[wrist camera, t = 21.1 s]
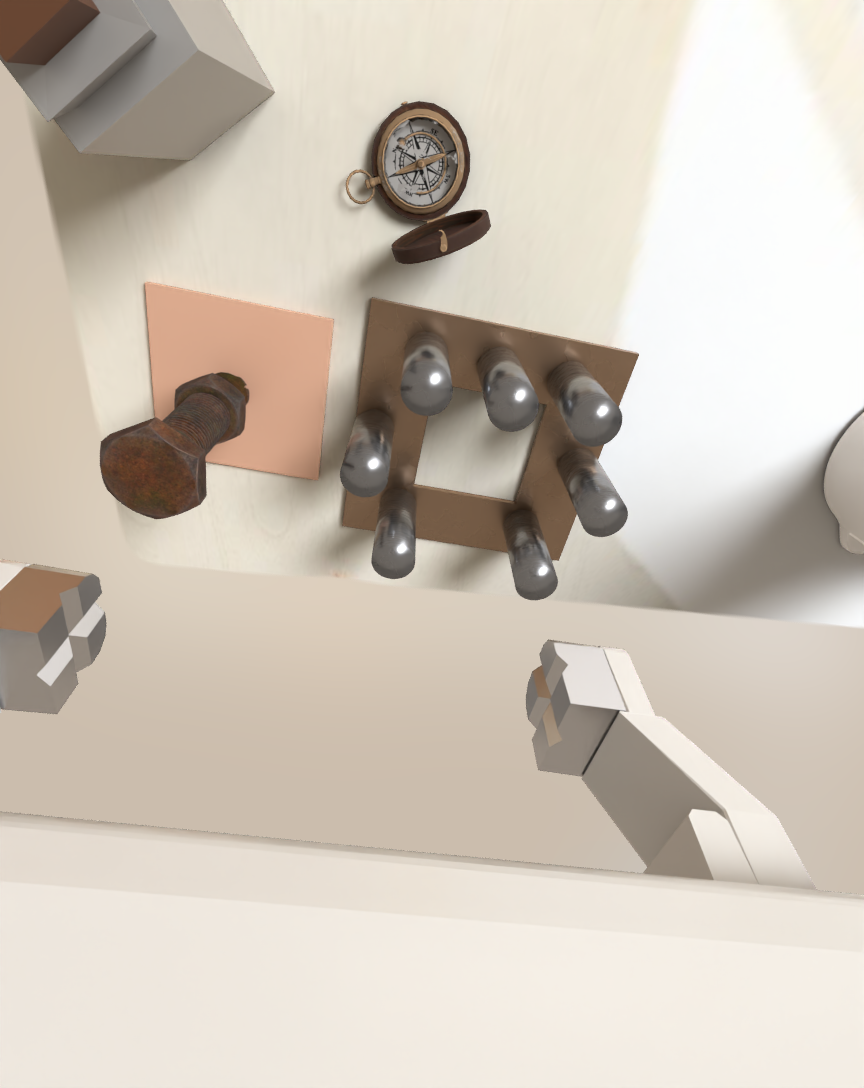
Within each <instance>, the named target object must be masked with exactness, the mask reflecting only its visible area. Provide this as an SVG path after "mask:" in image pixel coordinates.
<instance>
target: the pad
mask: <svg viewBox="0 0 864 1088" xmlns="http://www.w3.org/2000/svg"><path fill="white" fill-rule="evenodd" d="M145 291H146V304H147V318H148V331H149V344H150V358H151V371H152V384H153V398H154V411H155V418H156V417H157V418H158V419H160V420H161V421H163V420H164V419H165V418H166V417H167V416H168V415H169V414H170V413H171V412H172V411H173V410H174V399H175V390H176V389H177V388H178V387H179V386H180V385H182V384H184V383H186V382H188V381H191V380H193V379H196V378H198V377H201V376H204V375H207V374H211V373H214V374H216V373H219V372H224V373H230V374H232V375H235V376H238V377H241V378H242V379H243V380H244V382H245V383H246V385H247V386H245V387H246V388H247V389H249V395H250V396H249V401H248V403H247V405H246V419H245V428H244V431H243V432H242V433H241V435H240V436H237V437H235V438H233V439H231V440H228V441H226V442H223V443H220V444H216V445H215V446H214V447H213V448H212V449H211V451H210V452H209V453H208V454H207V455H206V462H212V463H218V464H224V465H230V466H235V467H241V468H247V469H253V470H259V471H265V472H271V473H277V474H283V475H289V476H295V477H300V478H306V479H312V480H318V479H319V469H320V459H321V448H322V438H323V428H324V417H325V407H326V397H327V386H328V376H329V366H330V355H331V345H332V335H333V324H334V319H330V318H325V317H320V316H315V315H310V314H305V313H300V312H295V311H290V310H285V309H280V308H275V307H270V306H265V305H261V304H256V303H251V302H246V301H241V300H236V299H231V298H226V297H221V296H216V295H211V294H206V293H201V292H196V291H191V290H186V289H182V288H177V287H172V286H167V285H162V284H157V283H152V282H145Z"/></svg>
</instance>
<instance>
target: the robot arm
mask: <svg viewBox="0 0 864 1088" xmlns="http://www.w3.org/2000/svg"><path fill="white" fill-rule="evenodd" d="M824 494H825V498H826V502H827V504H828V506H829V508H830V510H831V511H832V513H833V514H834V515H835V517H836V518H837V520H838V522H839V524H840V543H841V545H842V547H843V548H845V549H846V550H848V551H849V552H851V553H854V554H864V412H863V413H862V414H861V415H860V416H859V417H858V418H857V419H856V420H855V421H854V422H853V423H852V424H851V426H850V427H849V428H848V429H847V430H846V432H845V433H844V434H843V436H842V437H841V439H840V440H839V442H838V443H837V445H836V447H835V449H834V450H833V452H832V454H831V457H830V459H829V462H828V465H827V468H826V472H825V477H824ZM101 593H102V591H101V586H100V581H99V578H98V577H97V576H95V575H94V574H91V573H85V572H79V571H72V570H67V569H61V568H55V567H49V566H43V565H37V564H27V563H22V562H16V561H10V560H4V559H3V560H0V713H1V709H5V710H15V711H26V712H38V713H50V714H58V712H59V711H60V709H61V708H62V706H63V705H64V704H65V702H66V701H67V699H68V698H69V696H70V695H71V694H72V692H73V691H74V689H75V688H76V686H77V685H78V680H77V674H76V672H78V671H79V670H82V669H83V668H85V667H87V666H89V665H91V664H92V663H93V661H94V660H95V658H96V657H97V655H98V654H99V652H100V650H101V647H102V644H103V641H104V638H105V633H106V617H105V612H104V611H103V610H102V609H101V608H100V607H99V606H98V605H97V604H96V603H95V601H96V600H97V599H98V597H99V596H100V595H101ZM540 659H541V663H542V665H541V666H540V667H538V668H537V669H535V670H534V671H533V672H532V674H531V677H530V680H529V682H528V687H527V694H526V709H527V715H528V720H529V721H530V722H531V723H532V724H533V725H534V726H535V727H536V729H537V730H536V732H535V734H534V736H533V739H532V742H533V746H534V752H535V757H536V762H537V766H538V770H540V771H547V772H554V773H561V774H569V775H575V776H582V780H583V781H584V782H585V784H586V785H587V787H588V788H589V789H590V791H591V792H592V793H593V794H594V796H595V797H596V799H597V800H598V801H599V803H600V804H601V805H602V807H603V808H604V809H605V811H606V812H607V813H608V815H609V816H610V817H611V818H612V820H613V821H614V823H615V824H616V825H617V827H618V828H619V829H620V831H621V832H622V833H623V835H624V836H625V837H626V839H627V840H628V841H629V843H630V844H631V845H632V847H633V848H634V849H635V851H636V852H637V853H638V855H639V856H640V857H641V859H642V860H643V861H644V863H645V864H646V865H647V869H646V870H645V871H644V872H643V873H634V872H624V871H613V870H603V869H593V868H582V867H571V866H562V865H552V864H541V863H531V862H520V861H510V860H500V859H489V858H478V857H467V856H457V855H447V854H436V853H425V852H415V851H404V850H393V849H383V848H373V847H362V846H351V845H341V844H331V843H321V842H310V841H300V840H289V839H279V838H268V837H259V836H249V835H238V834H228V833H217V832H208V831H197V830H187V829H176V828H165V827H156V826H144V825H134V824H125V823H114V822H104V821H93V820H83V819H73V818H63V817H52V816H42V815H31V814H21V813H11V812H0V1088H864V895H862V894H852V893H842V892H831V891H820V890H817V889H816V887H815V885H814V884H813V882H812V880H811V878H810V876H809V874H808V873H807V871H806V869H805V867H804V865H803V863H802V862H801V860H800V858H799V856H798V854H797V853H796V851H795V849H794V847H793V845H792V843H791V842H790V840H789V838H788V836H787V834H786V833H785V831H784V829H783V827H782V825H781V824H780V822H779V820H778V818H777V817H776V816H775V815H774V814H773V813H772V812H771V811H769V810H768V809H767V808H766V807H765V806H764V805H763V804H762V803H761V802H759V801H758V800H757V799H756V798H755V797H754V796H752V795H751V794H750V793H749V792H748V791H747V790H746V789H745V788H743V787H742V786H741V785H740V784H739V783H738V782H736V781H735V780H734V779H733V778H732V777H731V776H730V775H729V774H728V773H726V772H725V771H724V770H723V769H722V768H721V767H720V766H718V765H717V764H716V763H715V762H714V761H713V760H712V759H711V758H709V757H708V756H707V755H706V754H705V753H704V752H703V751H701V750H700V749H699V748H698V747H697V746H696V745H695V744H693V743H692V742H691V741H690V740H689V739H688V738H687V737H685V736H684V735H683V734H682V733H681V732H680V731H679V730H677V729H676V728H675V727H674V726H673V725H672V724H671V723H669V722H668V721H667V720H666V719H665V718H664V717H660V716H656V715H655V713H654V711H653V709H652V706H651V704H650V702H649V699H648V697H647V695H646V693H645V691H644V688H643V686H642V684H641V681H640V679H639V677H638V674H637V672H636V670H635V667H634V665H633V663H632V661H631V658H630V656H629V654H628V653H627V652H626V651H625V650H624V649H618V648H610V647H602V646H598V647H596V646H590V645H583V644H575V643H569V642H562V641H554V640H548V641H547V642H546V643H545V644H544V645H543V648H542V650H541V652H540Z"/></svg>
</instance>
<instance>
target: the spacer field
mask: <svg viewBox="0 0 864 1088" xmlns="http://www.w3.org/2000/svg"><path fill="white" fill-rule="evenodd" d="M638 356H639V354H638V353H637V352H632V351H627V350H622V349H618V348H613V347H608V346H603V345H599V344H594V343H589V342H584V341H579V340H575V339H570V338H565V337H560V336H555V335H551V334H546V333H541V332H536V331H531V330H527V329H522V328H517V327H512V326H507V325H503V324H498V323H493V322H488V321H483V320H479V319H474V318H469V317H464V316H459V315H455V314H450V313H445V312H440V311H435V310H431V309H426V308H421V307H416V306H411V305H407V304H402V303H397V302H392V301H387V300H383V299H378V298H373V297H372V299H371V306H370V314H369V322H368V330H367V337H366V345H365V353H364V361H363V368H362V376H361V384H360V392H359V400H358V407H357V415H356V419H355V422H354V426H353V429H352V433H351V436H350V439H349V443H348V446H347V450H346V453H345V457H344V460H343V464H342V467H341V471H340V478H341V482H342V484H343V486H344V487H345V488H346V489H347V493H346V500H345V508H344V516H343V524H342V526H347V527H353V528H359V529H366V530H372V531H375V539H374V546H373V553H372V566H373V568H374V570H375V571H376V572H377V573H378V574H380V575H381V576H383V577H386V578H390V579H398V578H402V577H405V576H407V575H408V574H409V573H410V572H411V571H412V570H413V568H414V565H415V544H416V538H422V539H428V540H434V541H440V542H446V543H453V544H459V545H465V546H471V547H477V548H484V549H490V550H496V551H502V552H508V555H509V559H510V564H511V568H512V573H513V578H514V582H515V587H516V590H517V592H518V594H519V595H520V596H522V597H523V598H525V599H528V600H540V599H544V598H546V597H548V596H549V595H551V594H552V593H553V592H554V591H555V589H556V587H557V584H558V579H557V576H556V573H555V570H554V567H553V563H552V560H558V561H559V558H560V556H561V553H562V551H563V548H564V545H565V543H566V540H567V538H568V535H569V533H570V530H571V528H572V525H573V522H574V520H575V517H576V515H578V517H579V519H580V521H581V523H582V526H583V528H584V529H585V531H586V532H587V533H589V534H591V535H593V536H597V537H605V536H609V535H612V534H614V533H616V532H617V531H619V530H620V529H621V528H622V527H623V526H624V524H625V522H626V520H627V516H628V511H627V508H626V506H625V504H624V503H623V501H622V499H621V498H620V496H619V494H618V493H617V491H616V489H615V488H614V486H613V484H612V483H611V481H610V479H609V478H608V476H607V475H606V473H605V471H604V470H603V468H602V466H601V465H600V463H599V461H598V458H599V456H600V453H601V451H602V448H603V446H604V444H606V443H608V442H609V441H611V440H612V439H613V438H614V437H615V436H616V435H617V433H618V432H619V430H620V427H621V424H622V414H621V411H620V409H619V405H620V402H621V399H622V397H623V394H624V392H625V389H626V387H627V384H628V382H629V379H630V376H631V374H632V371H633V369H634V366H635V364H636V361H637V359H638ZM452 386H453V387H458V388H463V389H468V390H473V391H479V392H482V393H483V397H484V400H485V404H486V408H487V412H488V416H489V418H490V420H491V422H492V423H493V424H494V425H495V426H496V427H497V428H499V429H501V430H504V431H509V432H513V431H518V430H521V429H524V428H525V427H527V426H528V425H529V424H531V423H532V421H533V420H534V419H535V417H536V415H537V413H538V409H539V403H541V404H546V406H545V409H544V412H543V415H542V419H541V422H540V425H539V428H538V431H537V434H536V438H535V441H534V444H533V447H532V450H531V453H530V456H529V460H528V463H527V466H526V469H525V472H524V475H523V479H522V482H521V485H520V488H519V491H518V494H517V498H516V501H510V500H504V499H498V498H493V497H487V496H481V495H475V494H469V493H464V492H458V491H452V490H446V489H440V488H434V487H429V486H423V485H417V484H414V482H415V477H416V472H417V467H418V462H419V457H420V452H421V447H422V442H423V437H424V432H425V427H426V422H427V417H428V416H431V415H435V414H437V413H439V412H441V411H442V410H444V409H445V408H446V407H447V405H448V404H449V402H450V400H451V398H452V393H453V388H452ZM551 559H552V560H551Z"/></svg>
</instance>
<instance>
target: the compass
mask: <svg viewBox="0 0 864 1088" xmlns="http://www.w3.org/2000/svg"><path fill="white" fill-rule="evenodd" d="M401 105H403V106H401V107H400V108H398V109H396V110H395V111H393V112H392V113H391V114H390V115H389V116H388V117H387V119H386V120H385V121H384V122H383V123H382V125H381V127H380V129H379V131H378V133H377V135H376V138H375V140H374V146H373V151H372V171H373V176H374V178H373V177H372V176H371V175H370V174H369V173H368V172H367V171H364V170H361V169H360V170H355V171H353V172H352V173H350V175H349V176H348V178H347V181H346V190H347V194H348V195H349V197H350V199H351V200H353V201H354V202H355V203H358V204H366V203H367V202H369V201H370V200H371V199H372V198H373V196H374V193H375V186H376V185H377V189H378V191H379V192H380V194H381V196H382V197H383V199H384V200H385V202H386V203H387V204H388V205H389V206H390V207H391V208H392V209H393V210H394V211H395V212H396V213H398V214H400V215H402V216H404V217H406V218H408V219H414V220H421V221H427V224H425V225H423V226H420V227H418V228H416V229H414V230H412V231H410V232H409V233H407V234H405V235H403V236H402V237H400V238H399V239H398V240H396V241H395V242H394V243H393V244H392V251H393V254H394V257H395V260H396V261H397V262H399V263H403V264H413V263H420V262H424V261H429V260H433V259H436V258H439V257H442V256H445V255H448V254H450V253H453V252H455V251H458V250H460V249H462V248H464V247H466V246H468V245H470V244H472V243H474V242H475V241H477V240H479V239H480V238H482V237H483V236H484V235H485V234H486V233H487V231H488V230H489V229H490V227H491V224H490V220H489V215H488V212H487V211H486V210H471V211H466V212H460V213H457V214H453V215H450V216H446V217H445V215H444V214H446V213H448V211H449V210H450V209H451V208H452V207H453V206H454V205H455V204H456V202H457V201H458V200H459V198H460V196H461V195H462V193H463V191H464V189H465V187H466V184H467V180H468V176H469V172H470V152H469V148H468V144H467V139H466V136H465V134H464V132H463V131H462V129H461V127H460V125H459V123H458V122H457V121H456V120H455V118H454V117H453V116H452V115H451V114H450V113H449V112H448V111H447V110H445V109H443V108H441V107H439V106H437V105H436V104H433V103H427V102H420V101H418V102H414V103H409V104H407V102H404V103H402V104H401ZM359 172H362V173H365V174H366V175H367V176H368V177H370V179H367V180H365V184H366V187H367V189H370V188H371V187H372V188H373V191H372V195H371V196H370V198H369V199H367V200H366V201H361V202H360V201H357V200H355V199H354V198H353V197H352V196H351V194H350V192H349V188H348V184H349V180H350V178H351V176H352V175H354V174H355V173H359ZM442 215H443V216H442ZM428 220H429V221H428Z"/></svg>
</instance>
